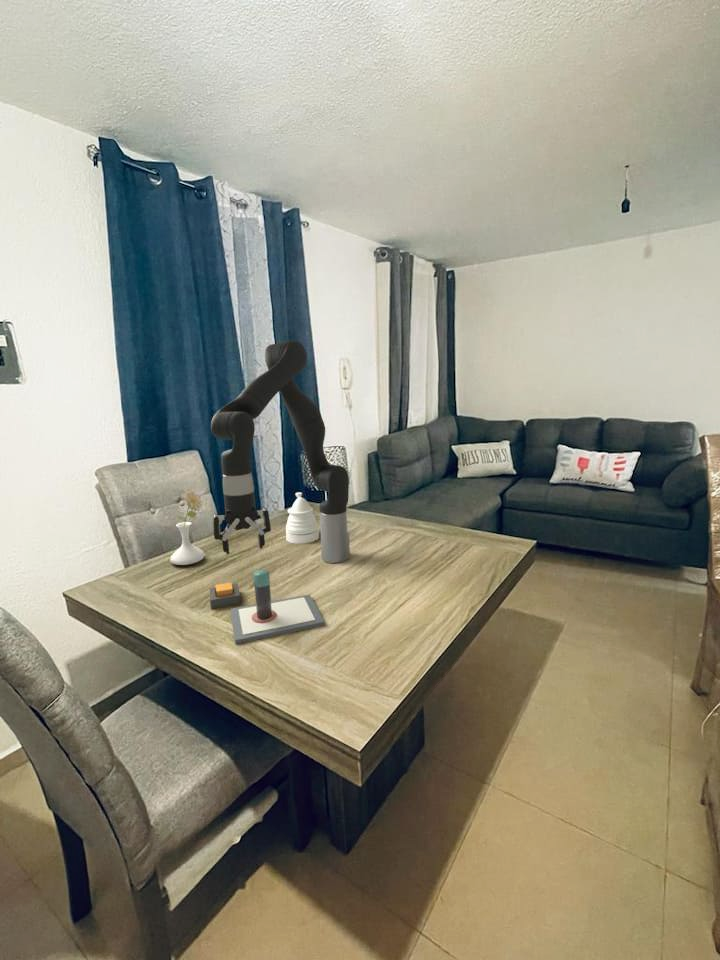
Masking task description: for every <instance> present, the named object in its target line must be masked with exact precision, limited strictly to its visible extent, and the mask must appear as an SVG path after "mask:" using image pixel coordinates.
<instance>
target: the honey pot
mask: <svg viewBox="0 0 720 960" xmlns="http://www.w3.org/2000/svg"><path fill="white" fill-rule="evenodd" d="M302 496H303V493H302V492H298V491H297V492H295V497H296V499H295V501H294V502H293V504H292V507H290V508H288V509H287V514H289V516H288V517H287V522H286V525H285V537H286V538H285V539H286V541H287V542H289V543H292V544H298V545H301V544H310V543H313V542H315V540H316V541H317V540H318V539H319V537H320V533H319V531H320V530H319V524H318V522H317V518H316V516H315V515H314V512H313V511H314V508H313V507H312V506H311V505H310V504H309V503H308V501H307V499H305V498H304V497H302Z"/></svg>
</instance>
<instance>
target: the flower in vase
mask: <svg viewBox="0 0 720 960" xmlns="http://www.w3.org/2000/svg"><path fill="white" fill-rule="evenodd" d="M183 500H184V502H185V503H186V506H187V509H186V514H185V517H183V516H180V515H179V516H177V517H178V521H179V520H181V521H182V522H178V523H177V524H176V525H175V526H176V527H177V528H178V530H179V531H180V536H181V540H182V541H181V545H180V547H178V548H177V549H176V550H175V552H173V554H171V556H170V559H169V561H170V562H171V563H172V564H173V565H177V566H189V565H193V564H195V563H198V562H200V561H201V560H203V559H204V558H205V555H206V554H205V552H204V551H203V550H202V549H200V548H198V547H197V546H195V545H193V544H192V543H191V542H190V535H189V533H190V527H191V525H192V524H193V523H192V522H191V521H190V522H189V521H187V517H190V518H192V519H193V518H195V517H196V516H197V512H198V511H199V512H200V510H201V509H202V507H203V505H202V500H201V499H200V497H199V496H198V494H197V493H196V494H195V491H193V490H189V491H188V490H186V492H185V494H184V495H183ZM189 509H190V510H189Z"/></svg>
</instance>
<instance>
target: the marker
mask: <svg viewBox="0 0 720 960" xmlns="http://www.w3.org/2000/svg"><path fill="white" fill-rule="evenodd" d="M252 575H253V585H254V595H255V596H254V597H255V604H256V609H257V618H258V619H261V620H265V619H268V618H270V617H271V616H272V608H271V601H272V597H271V580H270V579H271V578H270V571H269V570H267V569H258V570H256V571H254V572H253V573H252Z"/></svg>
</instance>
